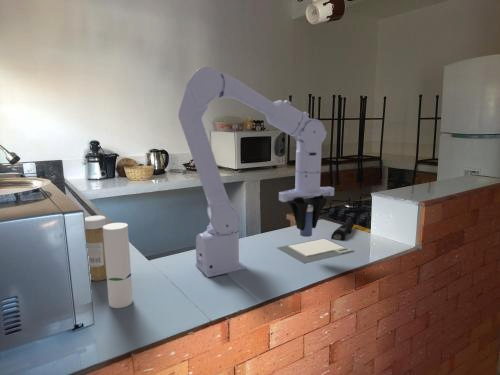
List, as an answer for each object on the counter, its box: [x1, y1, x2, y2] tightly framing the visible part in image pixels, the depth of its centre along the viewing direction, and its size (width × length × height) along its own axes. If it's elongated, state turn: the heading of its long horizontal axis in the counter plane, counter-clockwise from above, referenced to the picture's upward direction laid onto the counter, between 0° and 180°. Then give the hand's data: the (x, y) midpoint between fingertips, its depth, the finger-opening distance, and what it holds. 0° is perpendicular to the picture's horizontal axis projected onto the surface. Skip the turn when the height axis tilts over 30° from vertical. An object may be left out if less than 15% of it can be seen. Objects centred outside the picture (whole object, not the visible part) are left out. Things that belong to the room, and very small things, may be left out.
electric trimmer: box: [330, 218, 354, 242], centre depth 113 cm, size 4×16×3 cm, turn 152°
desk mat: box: [276, 238, 356, 264], centre depth 99 cm, size 16×12×1 cm
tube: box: [103, 222, 134, 309], centre depth 71 cm, size 4×4×15 cm
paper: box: [287, 238, 345, 257], centre depth 100 cm, size 12×8×1 cm, turn 119°
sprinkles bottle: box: [85, 215, 107, 282], centre depth 82 cm, size 5×5×14 cm
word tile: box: [334, 246, 353, 254], centre depth 98 cm, size 4×2×1 cm, turn 118°
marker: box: [299, 205, 313, 238], centre depth 91 cm, size 3×3×7 cm
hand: (306, 228), depth 91 cm, fingers closed on marker, 3 cm apart
